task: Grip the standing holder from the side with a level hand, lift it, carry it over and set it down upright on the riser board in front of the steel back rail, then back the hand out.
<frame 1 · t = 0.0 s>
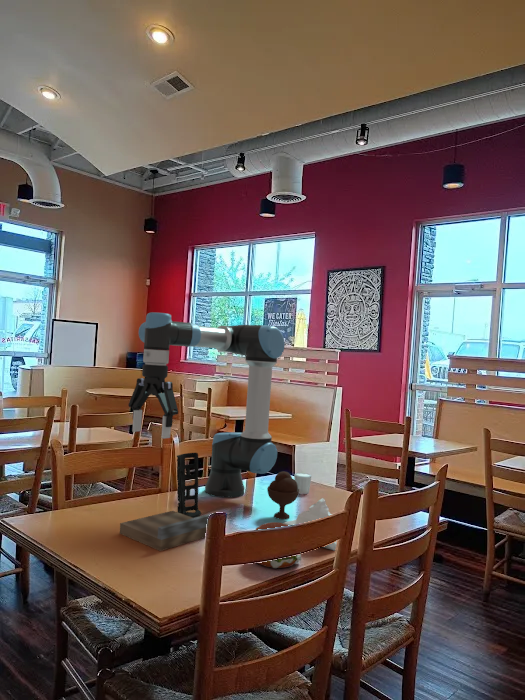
hand: (150, 434, 167), 28 cm above the table, tool pointing down, fingers open, 13 cm apart
holder: (186, 515, 182), on the table
riser board: (166, 534, 162), on the table
white cup: (301, 492, 222), on the table
burger: (274, 562, 147), on the table
ice cream bowl: (281, 517, 187), on the table
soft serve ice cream: (314, 544, 163), on the table
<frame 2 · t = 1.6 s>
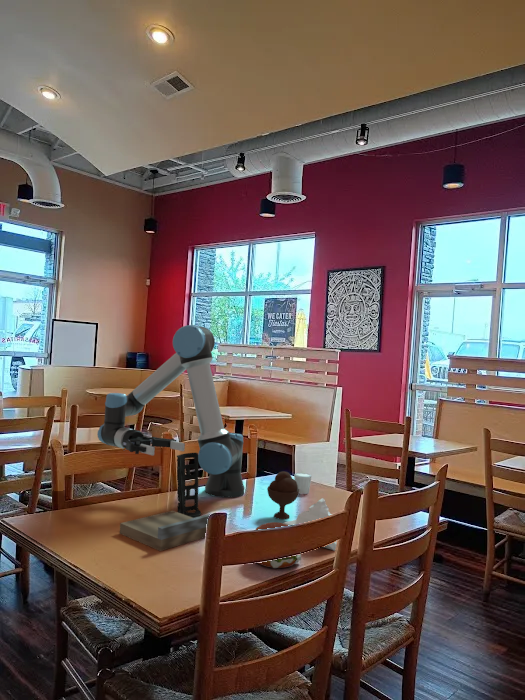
hand: (169, 449, 188), 20 cm above the table, tool horizontal, fingers open, 13 cm apart
nothing on the table moved.
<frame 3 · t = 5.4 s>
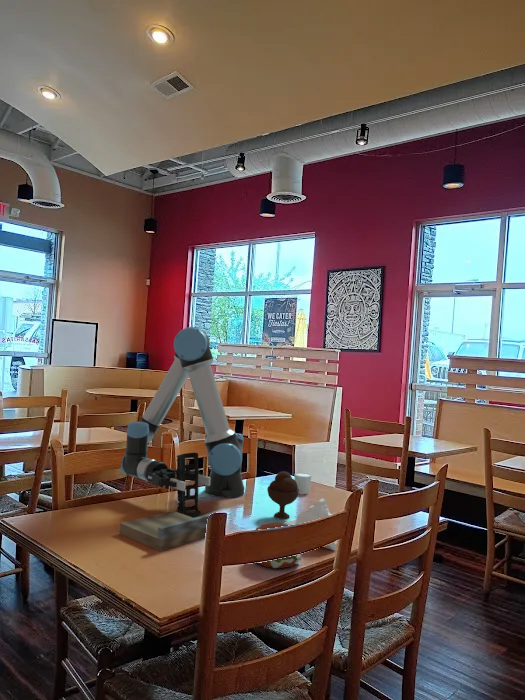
hand: (197, 484, 179), 11 cm above the table, tool horizontal, fingers closed on holder, 10 cm apart
holder: (186, 515, 182), on the table, touching gripper
everything else where it was.
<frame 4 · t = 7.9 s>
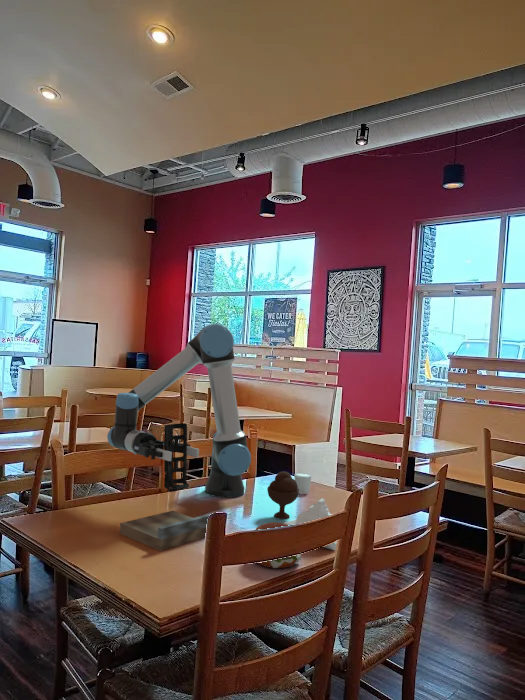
hand: (184, 455, 172), 22 cm above the table, tool horizontal, fingers closed on holder, 10 cm apart
holder: (173, 488, 174), point 10 cm above the table, touching gripper
everything else where it was.
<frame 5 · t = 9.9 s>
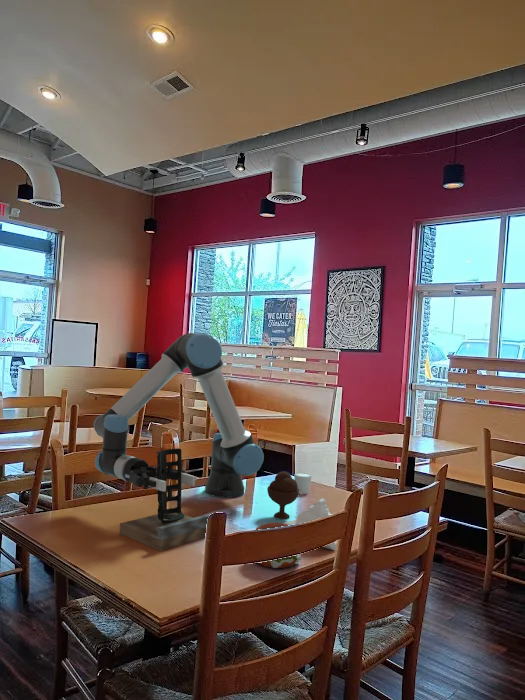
hand: (179, 483, 160), 16 cm above the table, tool horizontal, fingers closed on holder, 10 cm apart
holder: (167, 519, 162), point 4 cm above the table, touching gripper
everything else where it was.
when the fingers open (15 cm above the table, at t = 10.4 s): holder drops 1 cm, resting on riser board.
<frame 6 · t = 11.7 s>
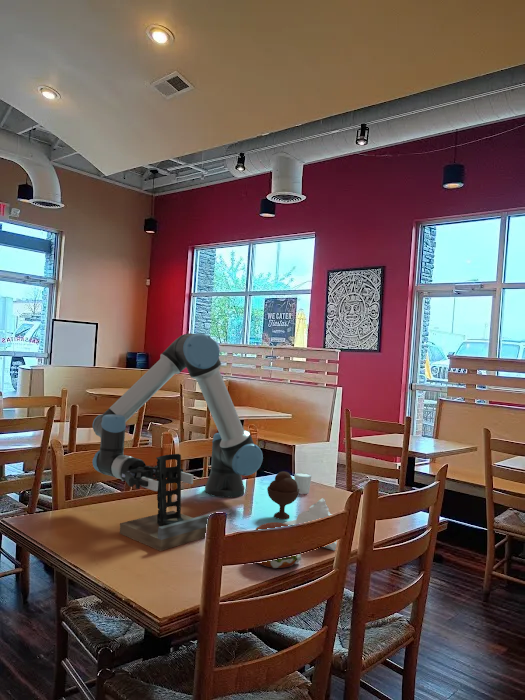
hand: (175, 482, 161), 16 cm above the table, tool horizontal, fingers open, 13 cm apart
holder: (167, 524, 162), point 3 cm above the table, touching riser board
everything else where it was.
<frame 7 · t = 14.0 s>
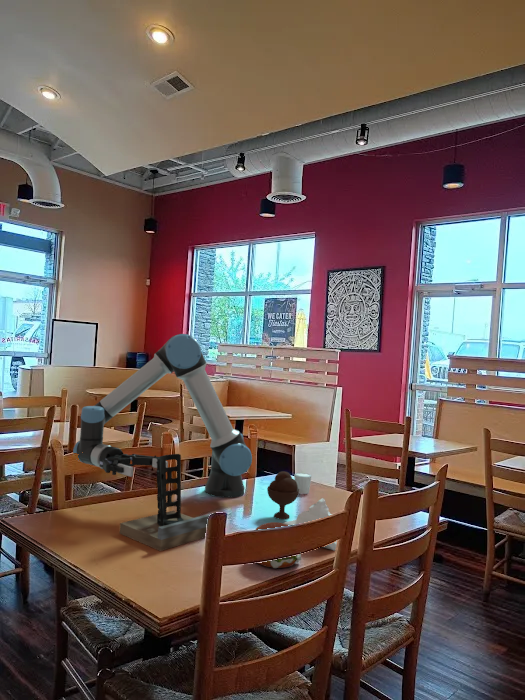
hand: (150, 468, 170), 17 cm above the table, tool horizontal, fingers open, 13 cm apart
nothing on the table moved.
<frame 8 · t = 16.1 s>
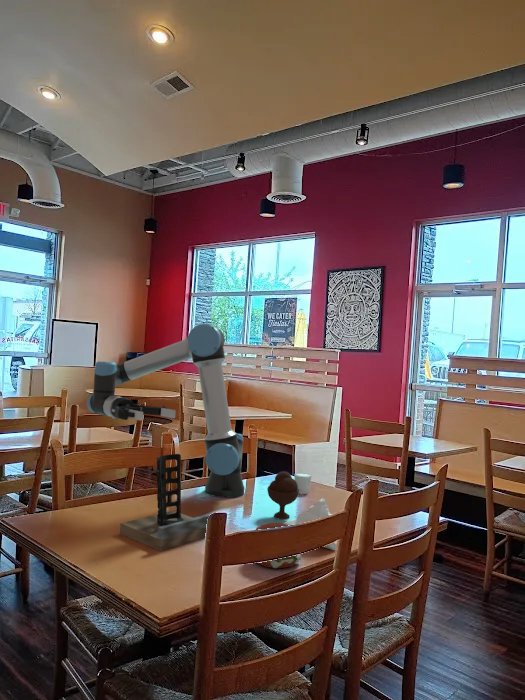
hand: (158, 415, 182), 32 cm above the table, tool horizontal, fingers open, 13 cm apart
nothing on the table moved.
at the end: holder inside the target area on the riser board (0.8 cm from its centre), point 2.8 cm above the riser board's base; holder tilted 0°; the gripper is holding nothing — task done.
